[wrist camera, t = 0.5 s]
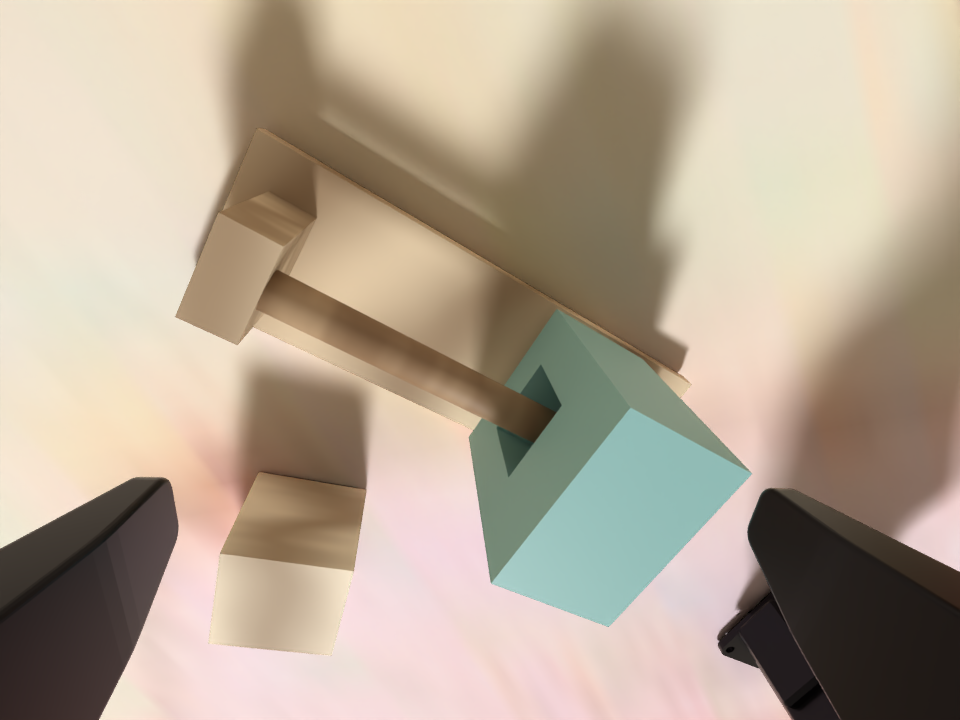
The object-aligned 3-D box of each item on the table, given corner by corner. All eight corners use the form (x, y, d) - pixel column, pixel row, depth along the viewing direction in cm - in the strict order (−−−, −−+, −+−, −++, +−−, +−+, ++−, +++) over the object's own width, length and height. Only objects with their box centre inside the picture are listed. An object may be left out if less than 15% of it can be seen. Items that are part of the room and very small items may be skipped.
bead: (642, 358, 19) (751, 473, 13) (552, 475, 21) (608, 626, 15) (556, 308, 18) (630, 407, 12) (468, 437, 20) (491, 583, 13)
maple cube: (366, 489, 22) (353, 571, 18) (347, 565, 24) (331, 655, 20) (258, 471, 21) (219, 553, 17) (246, 552, 23) (208, 643, 19)
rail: (682, 375, 21) (756, 445, 17) (597, 480, 23) (642, 569, 18) (263, 128, 16) (197, 128, 11) (196, 289, 18) (115, 346, 13)
